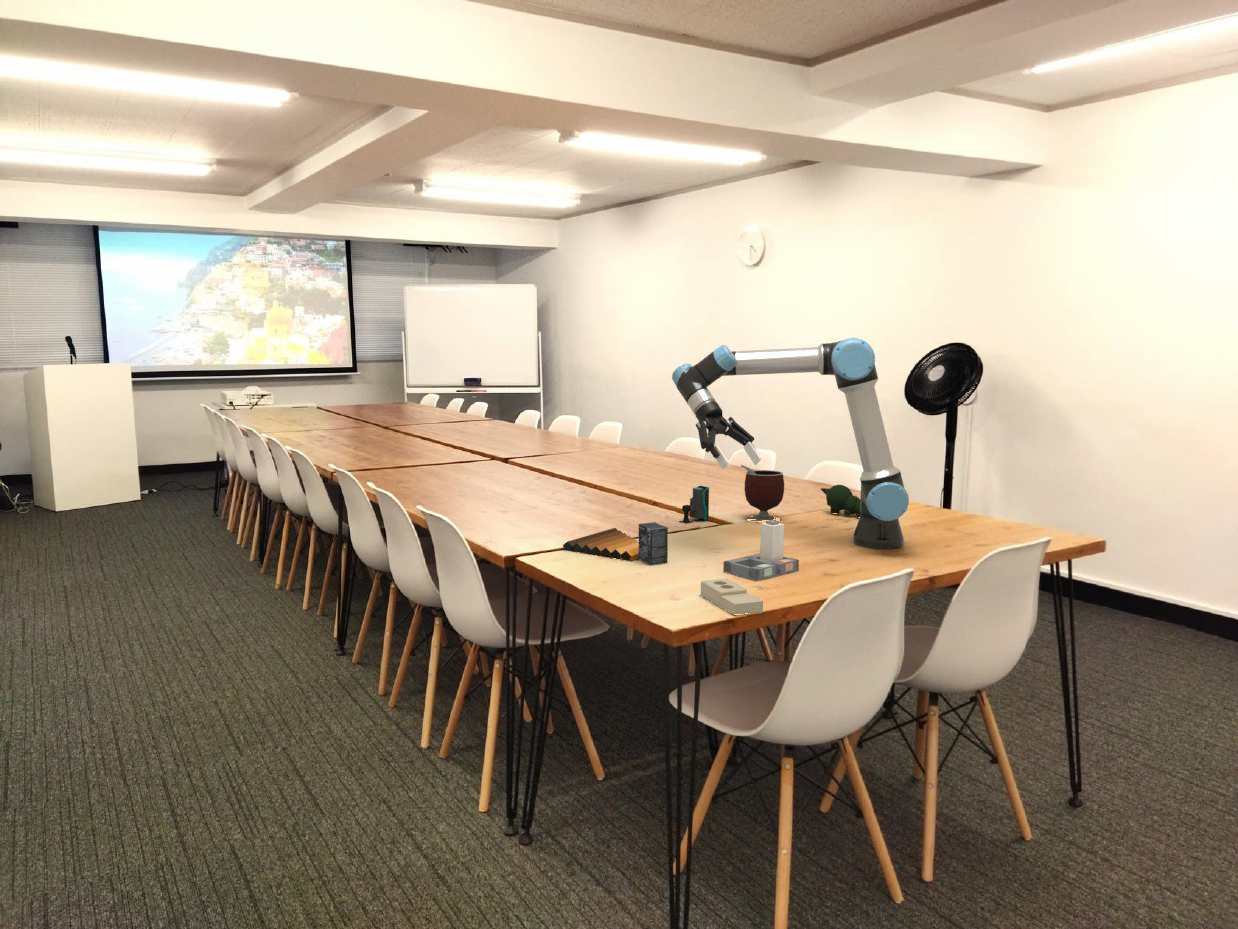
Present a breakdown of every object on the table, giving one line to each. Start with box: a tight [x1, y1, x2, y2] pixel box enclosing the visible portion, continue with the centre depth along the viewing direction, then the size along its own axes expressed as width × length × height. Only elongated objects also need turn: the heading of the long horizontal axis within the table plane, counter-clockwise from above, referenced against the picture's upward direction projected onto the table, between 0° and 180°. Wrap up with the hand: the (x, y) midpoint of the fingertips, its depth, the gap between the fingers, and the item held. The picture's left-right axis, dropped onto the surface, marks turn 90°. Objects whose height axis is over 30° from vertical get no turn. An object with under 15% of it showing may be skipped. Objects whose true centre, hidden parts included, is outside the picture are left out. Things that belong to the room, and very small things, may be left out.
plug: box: [759, 520, 785, 562], centre depth 235 cm, size 4×4×13 cm
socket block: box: [723, 552, 800, 582], centre depth 233 cm, size 17×12×3 cm
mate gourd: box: [740, 464, 785, 521], centre depth 303 cm, size 16×14×20 cm
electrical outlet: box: [700, 578, 764, 615], centre depth 203 cm, size 7×4×18 cm
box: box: [638, 521, 669, 566], centre depth 244 cm, size 8×6×11 cm
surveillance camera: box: [678, 485, 710, 525], centre depth 302 cm, size 6×12×10 cm
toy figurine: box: [820, 484, 860, 518], centre depth 311 cm, size 9×19×25 cm
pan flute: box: [562, 527, 639, 562], centre depth 262 cm, size 25×3×25 cm
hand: (742, 463), depth 244 cm, fingers open, 13 cm apart
